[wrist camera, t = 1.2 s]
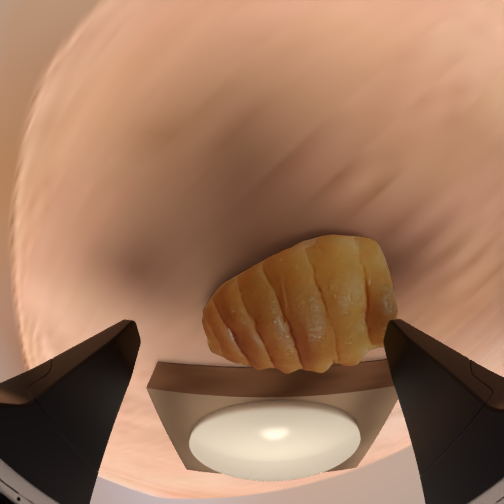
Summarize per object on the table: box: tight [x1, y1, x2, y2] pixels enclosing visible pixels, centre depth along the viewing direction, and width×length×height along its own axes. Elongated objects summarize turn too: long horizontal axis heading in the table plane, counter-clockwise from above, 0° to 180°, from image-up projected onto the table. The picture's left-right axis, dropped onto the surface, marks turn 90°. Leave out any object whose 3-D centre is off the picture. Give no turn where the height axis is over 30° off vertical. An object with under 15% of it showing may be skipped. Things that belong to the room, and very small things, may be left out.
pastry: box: [202, 235, 398, 374], centre depth 12 cm, size 9×7×4 cm
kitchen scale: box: [147, 360, 398, 481], centre depth 17 cm, size 16×13×3 cm
